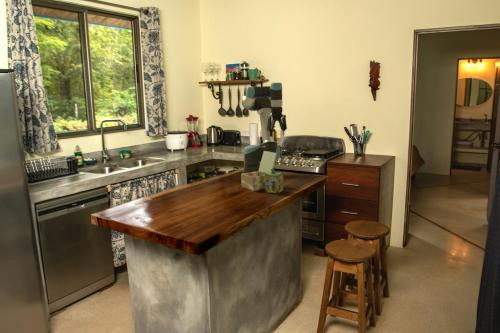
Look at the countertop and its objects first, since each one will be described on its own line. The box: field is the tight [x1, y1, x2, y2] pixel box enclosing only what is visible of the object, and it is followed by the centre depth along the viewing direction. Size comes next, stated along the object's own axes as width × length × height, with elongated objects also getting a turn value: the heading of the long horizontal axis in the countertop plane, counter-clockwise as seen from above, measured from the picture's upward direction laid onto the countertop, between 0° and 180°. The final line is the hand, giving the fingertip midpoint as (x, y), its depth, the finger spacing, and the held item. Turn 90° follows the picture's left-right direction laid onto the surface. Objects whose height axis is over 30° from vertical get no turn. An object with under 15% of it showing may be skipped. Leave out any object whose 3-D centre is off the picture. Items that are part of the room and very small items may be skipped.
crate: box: [240, 171, 267, 192], centre depth 257 cm, size 14×14×9 cm
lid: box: [259, 151, 277, 173], centre depth 260 cm, size 14×14×1 cm
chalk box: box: [264, 167, 284, 194], centre depth 245 cm, size 9×9×15 cm
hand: (277, 141), depth 262 cm, fingers open, 8 cm apart
